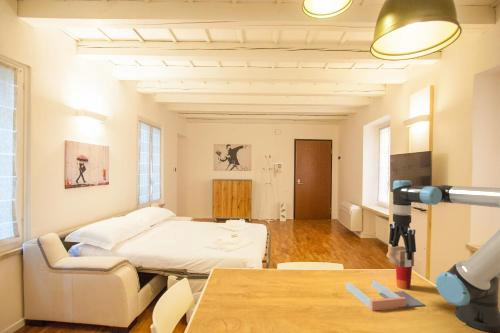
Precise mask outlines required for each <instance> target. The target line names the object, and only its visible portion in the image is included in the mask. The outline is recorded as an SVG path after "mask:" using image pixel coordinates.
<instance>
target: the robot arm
mask: <svg viewBox="0 0 500 333" xmlns="http://www.w3.org/2000/svg"><path fill="white" fill-rule="evenodd" d="M392 183H393V184H392V213H393V214H392V221H393V223H390V224H389V235H388V236H389V237H388V244H389V245H391V247H400V245H399V243H400V239H401V237H402V240H403V244H404V247H405V248H406V251H405V267H411V260H412V253H413V252H414V253H417V248H416V247H417V246H416V236H415V235H416V229H412V228H411V226H410V224H411V223H412V203H416V204H422V205H423V204H424V205H428V206H429V205H434V206H437V205H438V204H440V203H445V204H446V203H447V204H458V205H469V206H477V207H478V206H479V207H489V208H490V207H491V208H498V209H499V208H500V187H491V186H490V187H488V186H487V187H486V186H466V185H465V186H464V185H462V186H461V185H448V184H441V185H413V184H412V181H411V180H408V179H406V180H401V179H399V180H398V179H396V180H394V181H393V182H392ZM499 274H500V229H499V230H497V232H495V233H494V234H493V235H492V236H491V237H490V238H489V239H488V240H487V241H485V243H484V244H483V245H481V246H480V247H479V248H478V249H477V250H476V251H475V252H474V253H472V255H470V256H469V258H467V259H466V260H463V261H462V260H460V261H457V262H456V263H455V264H453V265H452V266H451V267H450V268H449V269H448V270H447V271H444V272H443V271H442V272H440V274H438V275H437V276H436V278H435V285H436V290H437V291H438V293H439V295H440V297H442V298H443V300H445V301H446V302H448V303H449V304H451V305H453V306H456V307H455V309H454V311H455V312H454V313H455V314H454V315H455V317H456V318H457V319H458V321H459V320H460V321H461V322H462V323H464V324H466V325H467V326H469V327H472V328H474V329H477V330H480V331H484V332H491V333H498V332H500V309H499V308H500V307H499V285H500V284H499V280H500V276H499Z"/></svg>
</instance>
